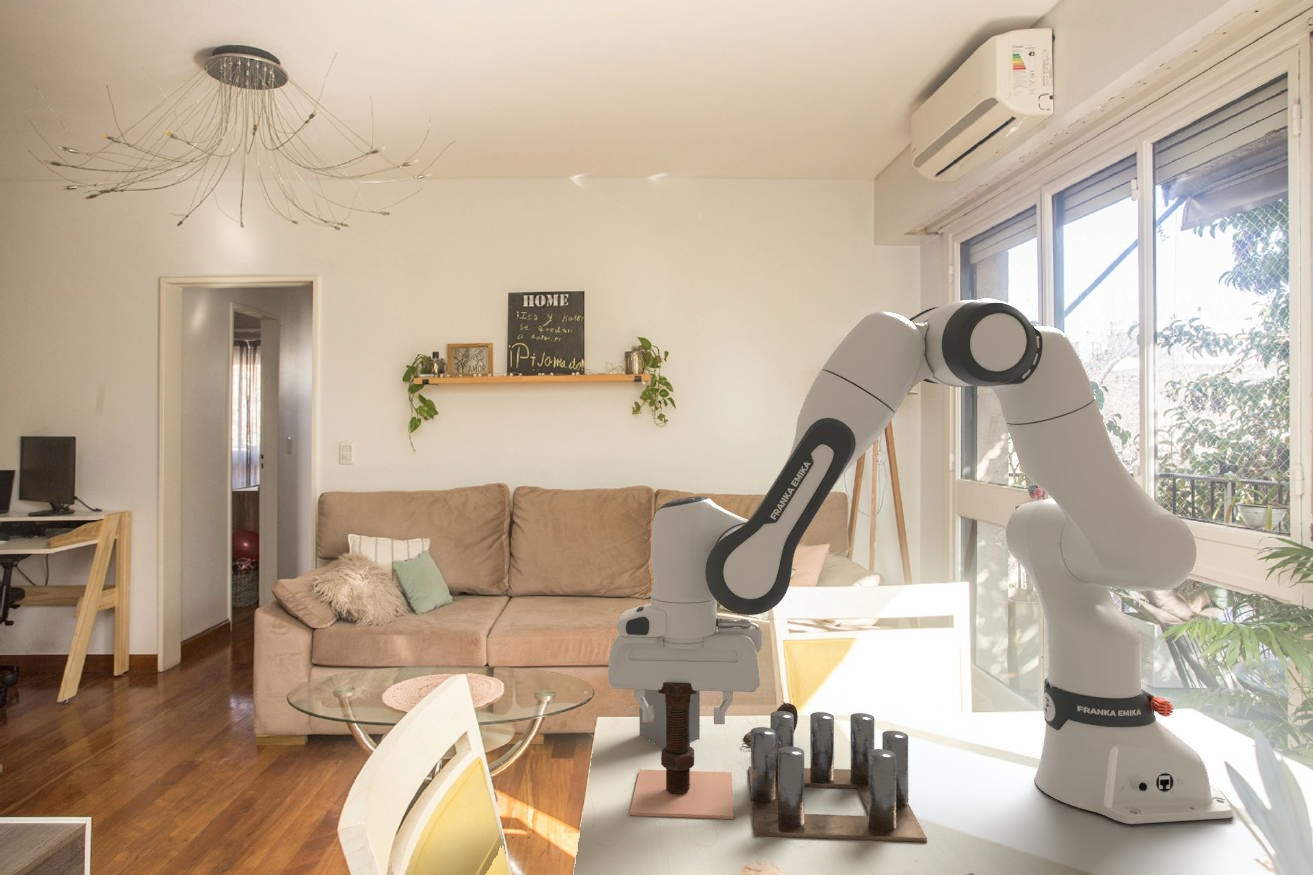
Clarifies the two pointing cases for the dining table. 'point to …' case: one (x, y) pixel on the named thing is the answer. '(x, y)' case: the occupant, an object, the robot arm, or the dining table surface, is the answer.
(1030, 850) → the dining table surface
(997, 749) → the dining table surface
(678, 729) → the bolt
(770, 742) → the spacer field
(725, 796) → the pad
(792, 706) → the compass
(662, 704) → the perfume bottle
